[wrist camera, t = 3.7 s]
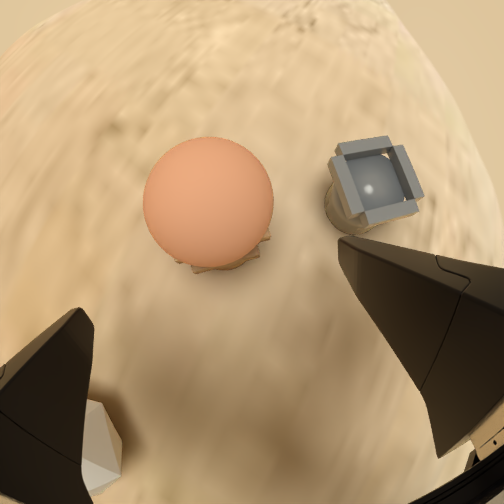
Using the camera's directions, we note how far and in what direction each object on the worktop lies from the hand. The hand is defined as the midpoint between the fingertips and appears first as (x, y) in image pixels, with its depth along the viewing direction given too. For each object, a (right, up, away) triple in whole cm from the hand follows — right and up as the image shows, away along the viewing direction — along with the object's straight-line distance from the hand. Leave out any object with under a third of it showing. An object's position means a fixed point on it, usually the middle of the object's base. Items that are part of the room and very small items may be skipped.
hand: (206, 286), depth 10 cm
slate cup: (+9, +4, +13) cm, 16 cm away
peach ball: (-1, +3, +4) cm, 6 cm away
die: (-12, -13, +10) cm, 20 cm away
